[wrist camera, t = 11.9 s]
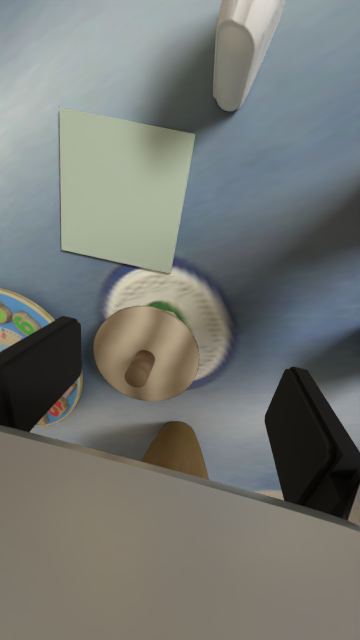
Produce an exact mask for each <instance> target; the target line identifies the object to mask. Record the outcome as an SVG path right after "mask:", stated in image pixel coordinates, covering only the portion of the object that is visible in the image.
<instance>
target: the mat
mask: <svg viewBox="0 0 360 640" xmlns="http://www.w3.org/2000/svg"><path fill="white" fill-rule="evenodd" d="M59 114H60V180H61V245H62V250H65V251H70V252H74V253H79V254H83V255H88V256H92V257H97V258H101V259H106V260H110V261H115V262H120V263H124V264H129V265H133V266H138V267H142V268H147V269H151V270H156V271H160V272H165V273H170V274H171V270H172V264H173V259H174V253H175V248H176V242H177V237H178V231H179V225H180V220H181V214H182V209H183V203H184V197H185V192H186V186H187V181H188V175H189V170H190V164H191V158H192V153H193V147H194V142H195V134H192V133H187V132H182V131H177V130H172V129H167V128H162V127H157V126H152V125H147V124H142V123H137V122H132V121H127V120H122V119H117V118H112V117H107V116H102V115H97V114H92V113H87V112H82V111H77V110H72V109H67V108H62V107H59Z"/></svg>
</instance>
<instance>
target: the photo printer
mask: <svg viewBox="0 0 360 640" xmlns="http://www.w3.org/2000/svg"><path fill="white" fill-rule="evenodd" d="M285 2H286V0H222V3H221V7H220V12H219V16H218V22H217V28H216V41H215V61H214V81H213V97H214V98H216V101H217V103H218V105H219V106H220V107H221V108H222V109H223V110H225V111H234V110H236V109H237V110H239V109H240V107H241V106H242V104H243V103H244V101H245V99H246V97H247V95H248V93H249V91H250V89H251V86H252V84H253V82H254V80H255V77H256V75H257V73H258V71H259V68H260V66H261V64H262V61H263V59H264V57H265V54H266V52H267V49H268V47H269V45H270V42H271V40H272V37H273V35H274V32H275V30H276V27H277V25H278V23H279V20H280V17H281V14H282V11H283V8H284V5H285Z"/></svg>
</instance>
